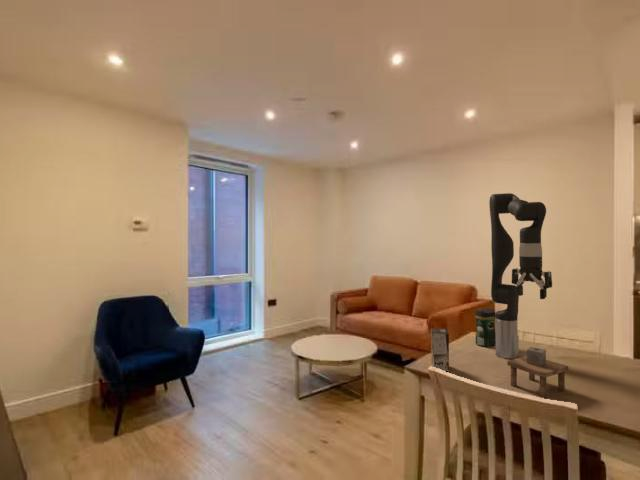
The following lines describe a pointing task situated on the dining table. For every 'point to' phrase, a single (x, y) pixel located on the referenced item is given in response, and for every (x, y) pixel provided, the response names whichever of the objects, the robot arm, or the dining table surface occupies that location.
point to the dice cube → (536, 356)
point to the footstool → (538, 372)
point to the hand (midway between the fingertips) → (531, 297)
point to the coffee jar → (485, 327)
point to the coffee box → (440, 348)
